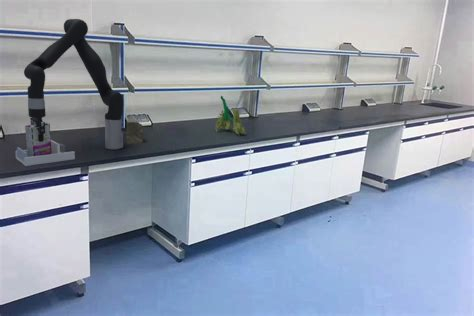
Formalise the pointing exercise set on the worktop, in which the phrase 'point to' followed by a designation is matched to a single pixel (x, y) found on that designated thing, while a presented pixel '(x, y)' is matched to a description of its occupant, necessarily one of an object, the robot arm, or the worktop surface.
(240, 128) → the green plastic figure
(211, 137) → the worktop surface
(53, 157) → the grey shallow tray
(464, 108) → the worktop surface
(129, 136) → the stone block
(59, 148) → the pusher
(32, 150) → the candy bar box
